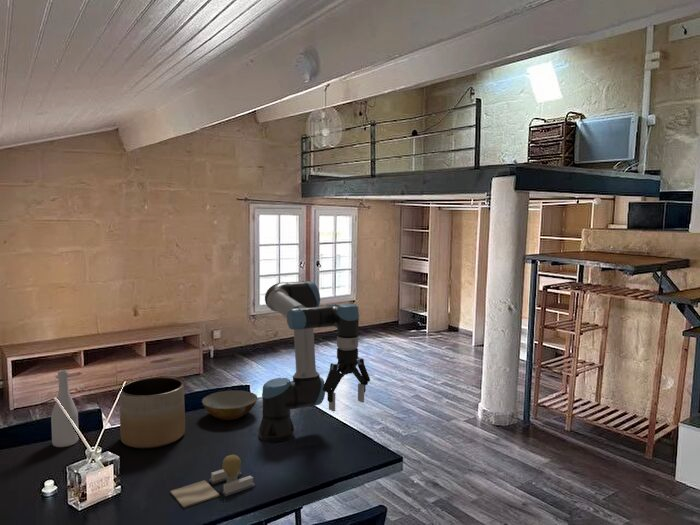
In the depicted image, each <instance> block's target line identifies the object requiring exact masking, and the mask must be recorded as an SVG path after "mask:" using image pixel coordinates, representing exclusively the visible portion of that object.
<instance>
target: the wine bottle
mask: <svg viewBox="0 0 700 525" xmlns="http://www.w3.org/2000/svg"><path fill="white" fill-rule="evenodd" d="M68 376H69V370H68V369H60V370H58V371H57V378H58V392H57V396H56V399H58V400H59V401H60V403H61V405H62V406H63V407H64V409H65V410H66V411H67V413H68V414H69V416H70V418H71V419H72V420H73V421H74V423H75V424H76V426H77V427H78V428H79V412H78V410H77V406H76V404H75V402H74V401H73V398H72V395H71V393H70V390H69V378H68ZM50 416H51V417H50V419H51V420H50V422H51V443H52V446H53V447H55V448H65V447H70V446H72V445H75V444H77V443H78V442H79V440H80V439H79V438H80V436H79V437H78V435H77V433H76V432H75V430H74V429H73V427H72V425H71V424H70V422H69V421H68V419H67V418H66V416H65V415H64V413H63V411H62V410H61V408H60V407H59V405H58V404H57V402H56V401H55V402H54V406H53V409H52V413H51V415H50Z"/></svg>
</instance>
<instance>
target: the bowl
mask: <svg viewBox="0 0 700 525" xmlns="http://www.w3.org/2000/svg"><path fill="white" fill-rule="evenodd" d="M257 400H258V396H257V395H256V394H255V393H254V392H251V391H247V390H237V389H236V390H235V389H233V390H232V389H231V390H222V391H217V392H214V393H210V394H208V395H206V396H204V397H203V398H202V399H201V403H202V405H203V407H204V409H205V410H206V411H207V412H208V414H210V415H211V416H213V417H214V418H217V419H220V420H222V421H235V420H238V419H240V418H241V417H243V416H245V415H246V414H248V413H249V412H250V411H252V409H253V407H254V406H255V404H256V403H257ZM234 419H235V420H234Z"/></svg>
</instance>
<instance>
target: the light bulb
mask: <svg viewBox="0 0 700 525" xmlns="http://www.w3.org/2000/svg"><path fill="white" fill-rule="evenodd" d="M221 465H222V469H223V470H224V471H225V473H226V474H227V476H226V477H227V480H226V483H229V482H232V481H235V480H238V479H239V478H238V477H239V476H238V475H237V473H238V471H239V470H240V471H241V467H242V460H241V458H240V457H239V456H238V455H236V454H229V455H226V456H225V457H224V458H223V461H222V464H221Z"/></svg>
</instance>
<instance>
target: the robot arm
mask: <svg viewBox="0 0 700 525" xmlns="http://www.w3.org/2000/svg"><path fill="white" fill-rule="evenodd" d="M264 302H265V303H264V304H265V305H266V306H267V308H268V309H270V310H271V311H273V312H278V313H279V314H281V315H282V316H283V317H285V318H286V322H287V325H288V328H289V329H290V330H293V340H294V357H295V359H294V360H295V373H294V374H293V375H292V380H290V378H288V377H276V378H272V379H270V380H268V381H266V382H265V383H264V384H263V386H262V394H261V397H262V400H261V401H262V402H261V403H262V418H261V422H260V425H259V428H258V438H259V440H261V441H264V442H268V443H280V442H286V441H288V440H291V439H292V438H294V436H295V426H294V423H293V421H292V418H291V410H296V409H303V408H309V407H310V408H311V407H315V406H319V405H321V404H322V403H323V401H324V399H325V396H326V393H327V402H328V410H330V411H331V412H334V413H335V412H336V392H335V390H336V389H337V387H338V385H339V384H340V382H341V381H342V379H343V378H344V377H345V375H346V376H347V375H349V374H353V375H354V377H355V378H356V379H357V380H358V383H357V401H358V402H360V403H363V404H364V403H365V393H366V389H367V388H366V387H367V386H368V384H369V382H370V381H371V378H370V376H369V373H368V371H367V368H366V365H365V360H364V358H362V357H359V348H358V347H359V325H360V324H359V320H360V319H359V318H360V313H359V306H358V305H357V304H353V303H341V304H334V303H331V304H329V303H328V304H327V305H324V306H321V295H320V290H319V288H318V286H317V284H316V282H315V283H314V282H313V281H311V280H310V281H308V280H307V281H306V280H305V281H304V280H302V281H287V282H284V281H283V282H282V281H281V282H277V283H276V284H275V283H274V284H273V285H272V286H270V287H269V288H268V289H267V291H266V292H265V295H264ZM329 327H335V328H336V331H337V332H336V333H337V334H336V347H337V348H336V358H337V363H333V362H331V363H330V366H329V371H328V375H327V376H326V380H324V379H323V377H320V373H319V372H318V371H317V369H316V368H317V366H316V349H315V332H314V329H317V328H329ZM357 366H358V368H357Z"/></svg>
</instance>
